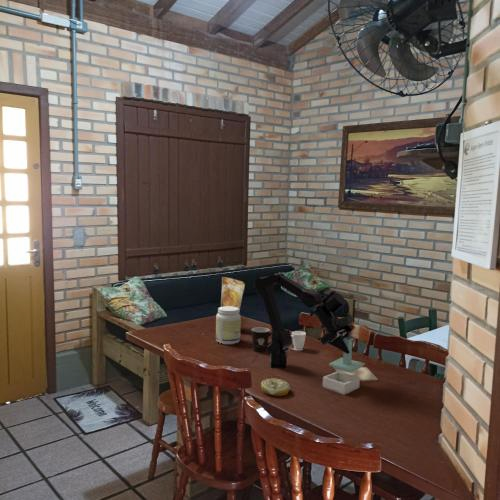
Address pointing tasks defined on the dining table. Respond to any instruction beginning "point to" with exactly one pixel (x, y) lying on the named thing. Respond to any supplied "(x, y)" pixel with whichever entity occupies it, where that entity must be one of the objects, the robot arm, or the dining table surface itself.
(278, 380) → the decorated donut
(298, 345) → the cup
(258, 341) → the coffee mug
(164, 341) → the dining table surface
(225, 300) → the pancake mix bag
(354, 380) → the tub
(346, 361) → the lid
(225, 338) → the supplement tub
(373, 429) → the dining table surface
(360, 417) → the dining table surface
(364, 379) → the board
